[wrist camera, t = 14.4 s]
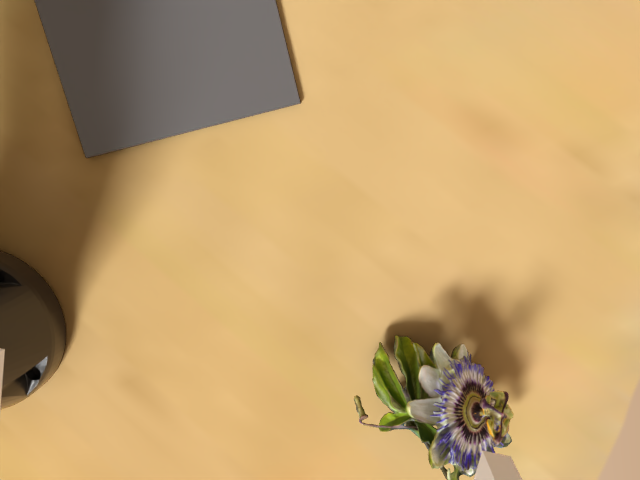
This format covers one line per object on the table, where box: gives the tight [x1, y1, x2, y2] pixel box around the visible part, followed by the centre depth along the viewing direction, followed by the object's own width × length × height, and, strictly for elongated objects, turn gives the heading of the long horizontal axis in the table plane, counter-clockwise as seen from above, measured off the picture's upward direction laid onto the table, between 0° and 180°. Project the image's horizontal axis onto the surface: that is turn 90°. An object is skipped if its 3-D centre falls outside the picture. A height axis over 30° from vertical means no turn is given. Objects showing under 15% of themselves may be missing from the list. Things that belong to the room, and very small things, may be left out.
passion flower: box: [354, 335, 513, 480], centre depth 44 cm, size 11×11×12 cm
